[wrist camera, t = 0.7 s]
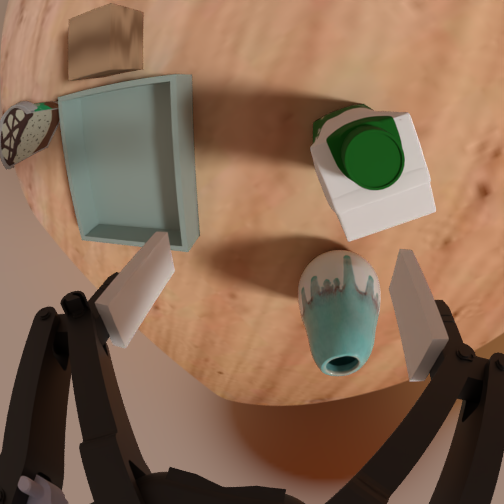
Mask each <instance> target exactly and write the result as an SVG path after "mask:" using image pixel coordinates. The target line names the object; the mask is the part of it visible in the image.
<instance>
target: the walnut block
mask: <svg viewBox="0 0 504 504" xmlns="http://www.w3.org/2000/svg"><path fill="white" fill-rule="evenodd" d="M143 14H144V12H141V11H138V10H134V9H131V8H127V7H124V6H120V5H116V4H112V3H110V4H107V5H104V6H102V7H99V8H96V9H93V10H91V11H88V12H86V13H83V14H81V15H78V16H76V17H74V18H71V19H69V30H68V78H69V81H71V80H79V79H88V78H99V77H106V76H111V75H116V74H120V73H125V72H130V71H136V70H141V69H143Z"/></svg>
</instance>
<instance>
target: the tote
mask: <svg viewBox="0 0 504 504" xmlns="http://www.w3.org/2000/svg"><path fill="white" fill-rule="evenodd" d="M58 107H59V118H60V128H61V136H62V144H63V151H64V157H65V164H66V170H67V175H68V181H69V186H70V191H71V196H72V201H73V205H74V210H75V214H76V218H77V222H78V226H79V230H80V234H81V238H82V240H86V241H95V242H103V243H112V244H121V245H130V246H139V247H143V246H144V244H145V243H146V242H147V241H148V240H149V239H150V238H151V237H152V236H153V235H154V233H155V232H156V231H157V232H168V237H169V243H170V248H171V250H174V251H183V252H189V250H190V249H191V247H192V246H193V244H194V243H195V241H196V240H197V239H198V237H199V236H200V231H199V218H198V204H197V190H196V173H195V154H194V131H193V100H192V75H185V74H173V75H165V76H157V77H150V78H143V79H137V80H131V81H126V82H120V83H115V84H110V85H105V86H101V87H96V88H92V89H88V90H84V91H80V92H76V93H72V94H69V95H65V96H61V97H58Z"/></svg>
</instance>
